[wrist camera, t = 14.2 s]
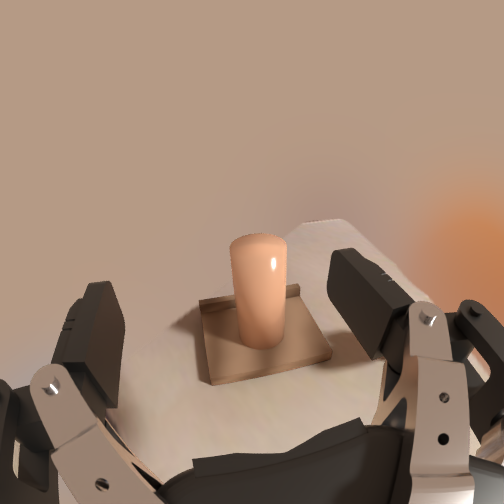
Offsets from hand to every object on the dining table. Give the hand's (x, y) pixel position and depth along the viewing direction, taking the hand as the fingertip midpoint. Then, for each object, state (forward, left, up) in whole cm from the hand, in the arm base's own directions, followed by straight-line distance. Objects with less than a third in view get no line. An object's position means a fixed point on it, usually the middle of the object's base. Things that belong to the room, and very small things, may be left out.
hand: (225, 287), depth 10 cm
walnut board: (+5, +16, -20) cm, 26 cm away
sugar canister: (+5, +16, -19) cm, 25 cm away
